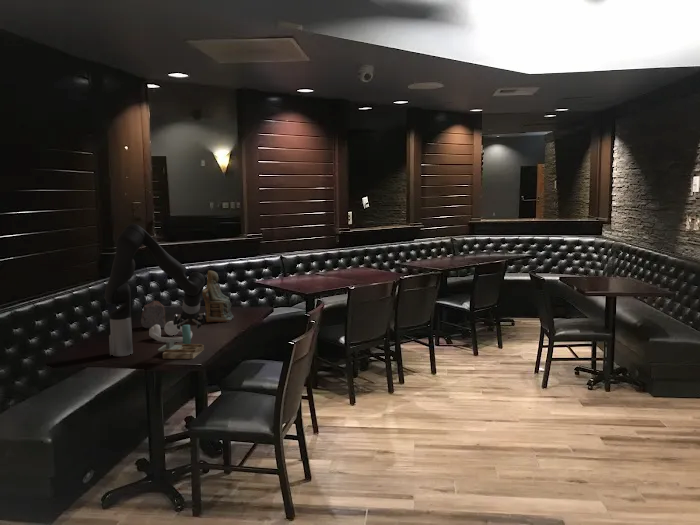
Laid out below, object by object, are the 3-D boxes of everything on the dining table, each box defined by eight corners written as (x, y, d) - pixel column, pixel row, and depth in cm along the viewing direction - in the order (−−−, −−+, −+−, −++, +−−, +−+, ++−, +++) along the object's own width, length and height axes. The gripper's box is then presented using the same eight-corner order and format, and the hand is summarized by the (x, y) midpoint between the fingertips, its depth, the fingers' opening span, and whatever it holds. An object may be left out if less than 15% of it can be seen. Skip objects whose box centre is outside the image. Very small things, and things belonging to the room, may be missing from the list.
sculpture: (227, 324, 336) (225, 273, 333) (200, 324, 336) (198, 273, 333) (236, 316, 360) (235, 268, 357) (211, 316, 361) (209, 268, 357)
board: (162, 358, 265) (162, 351, 265) (175, 349, 281) (175, 342, 281) (193, 358, 264) (192, 351, 264) (204, 349, 280) (203, 342, 280)
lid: (158, 351, 269) (157, 342, 268) (164, 346, 277) (164, 338, 277) (175, 351, 268) (175, 343, 268) (182, 346, 277) (181, 338, 276)
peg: (181, 348, 282) (180, 326, 281) (184, 346, 286) (183, 324, 285) (189, 348, 282) (188, 326, 281) (192, 346, 286) (191, 324, 285)
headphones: (144, 340, 300) (171, 348, 290) (144, 324, 299) (172, 333, 289) (173, 332, 317) (200, 340, 307) (174, 318, 316) (201, 325, 306)
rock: (173, 326, 333) (172, 300, 331) (158, 330, 322) (157, 303, 320) (154, 324, 339) (153, 298, 337) (139, 328, 328) (138, 302, 326)
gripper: (175, 314, 258) (173, 335, 269) (208, 312, 263) (204, 333, 274) (174, 300, 262) (172, 321, 274) (206, 299, 267) (203, 320, 279)
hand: (188, 327), depth 274 cm, fingers open, 8 cm apart
